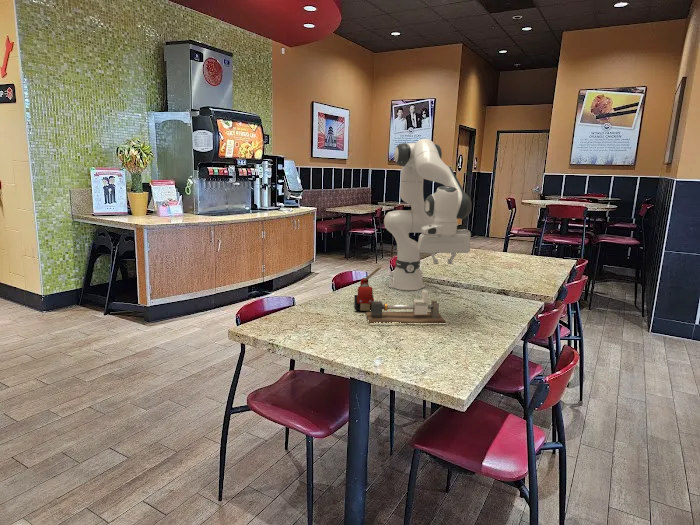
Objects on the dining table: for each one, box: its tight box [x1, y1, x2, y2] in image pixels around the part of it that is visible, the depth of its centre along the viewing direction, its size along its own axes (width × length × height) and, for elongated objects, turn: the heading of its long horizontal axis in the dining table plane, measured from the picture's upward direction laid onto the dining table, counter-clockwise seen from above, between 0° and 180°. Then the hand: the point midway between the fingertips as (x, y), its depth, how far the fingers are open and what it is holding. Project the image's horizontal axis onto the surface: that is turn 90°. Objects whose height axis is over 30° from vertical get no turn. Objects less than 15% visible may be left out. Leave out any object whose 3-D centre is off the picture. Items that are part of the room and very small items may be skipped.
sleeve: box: [412, 289, 429, 315], centre depth 183 cm, size 4×5×9 cm
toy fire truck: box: [353, 266, 382, 312], centre depth 198 cm, size 11×16×18 cm
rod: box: [370, 300, 433, 318], centre depth 184 cm, size 4×26×6 cm, turn 95°
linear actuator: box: [365, 300, 447, 324], centre depth 184 cm, size 12×30×8 cm, turn 95°
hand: (442, 263), depth 181 cm, fingers open, 4 cm apart
